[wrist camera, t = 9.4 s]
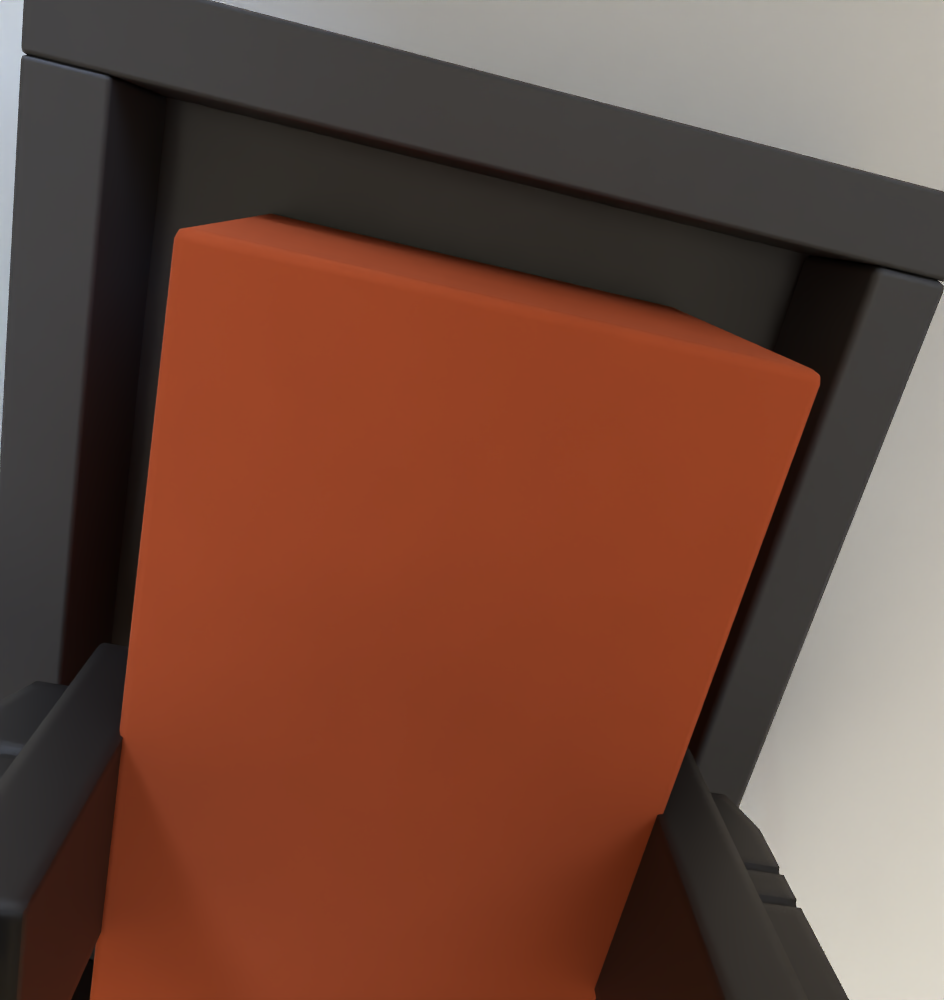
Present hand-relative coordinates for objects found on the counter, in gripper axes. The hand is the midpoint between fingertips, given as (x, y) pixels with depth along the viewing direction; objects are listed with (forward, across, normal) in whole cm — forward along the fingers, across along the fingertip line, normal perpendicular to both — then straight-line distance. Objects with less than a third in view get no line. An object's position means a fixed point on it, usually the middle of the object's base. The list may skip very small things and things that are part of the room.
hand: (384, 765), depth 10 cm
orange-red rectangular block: (+2, 0, 0) cm, 2 cm away
